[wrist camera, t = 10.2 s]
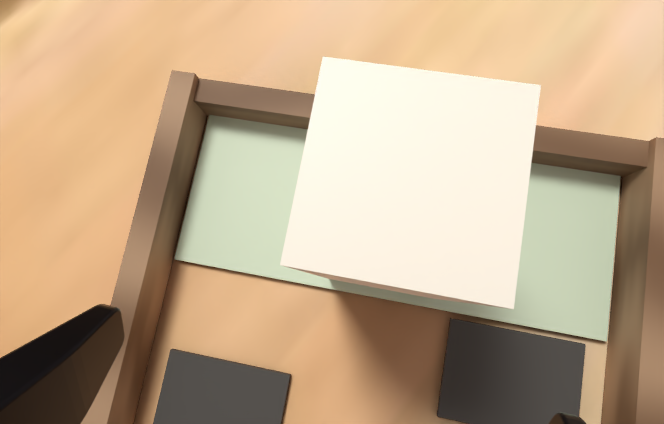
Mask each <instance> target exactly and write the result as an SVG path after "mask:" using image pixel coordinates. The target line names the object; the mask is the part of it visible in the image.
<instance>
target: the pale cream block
mask: <svg viewBox="0 0 664 424" xmlns="http://www.w3.org/2000/svg"><path fill="white" fill-rule="evenodd" d="M540 87H541V85H535V84H528V83H520V82H512V81H505V80H497V79H490V78H482V77H474V76H467V75H459V74H452V73H444V72H437V71H429V70H421V69H414V68H406V67H399V66H391V65H383V64H376V63H368V62H361V61H353V60H345V59H338V58H330V57H323V58H322V63H321V68H320V73H319V78H318V83H317V88H316V92H315V97H314V102H313V107H312V112H311V117H310V121H309V126H308V131H307V136H306V141H305V146H304V151H303V155H302V160H301V165H300V170H299V175H298V180H297V185H296V189H295V194H294V199H293V204H292V209H291V214H290V218H289V223H288V228H287V233H286V238H285V243H284V248H283V252H282V257H281V262H280V265H281V266H285V267H289V268H292V269H296V270H299V271H303V272H306V273H310V274H313V275H317V276H321V277H324V278H328V279H332V280H337V281H343V282H348V283H353V284H358V285H364V286H369V287H374V288H379V289H385V290H390V291H395V292H400V293H406V294H411V295H416V296H421V297H427V298H432V299H439V300H447V301H455V302H462V303H470V304H477V305H485V306H493V307H500V308H508V309H514V303H515V295H516V286H517V278H518V270H519V261H520V253H521V245H522V236H523V228H524V220H525V211H526V203H527V195H528V187H529V178H530V170H531V162H532V153H533V145H534V137H535V128H536V120H537V112H538V104H539V95H540Z"/></svg>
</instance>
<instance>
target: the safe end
mask: <svg viewBox="0 0 664 424" xmlns="http://www.w3.org/2000/svg"><path fill="white" fill-rule="evenodd" d="M307 131H308V129H302V128H295V127H288V126H282V125H275V124H268V123H262V122H255V121H248V120H241V119H235V118H228V117H221V116H215V115H209V118H208V122H207V126H206V130H205V134H204V138H203V143H202V147H201V151H200V155H199V159H198V163H197V167H196V172H195V176H194V180H193V184H192V188H191V192H190V196H189V200H188V205H187V209H186V213H185V217H184V221H183V225H182V229H181V233H180V238H179V242H178V246H177V250H176V254H175V258H174V259H175V260H181V261H186V262H191V263H196V264H202V265H207V266H212V267H217V268H223V269H228V270H233V271H238V272H244V273H249V274H254V275H260V276H265V277H270V278H275V279H281V280H286V281H291V282H296V283H302V284H307V285H312V286H317V287H323V288H328V289H333V290H338V291H344V292H349V293H354V294H359V295H365V296H370V297H375V298H381V299H386V300H391V301H396V302H402V303H407V304H412V305H417V306H423V307H428V308H433V309H438V310H444V311H449V312H454V313H459V314H465V315H470V316H475V317H481V318H486V319H491V320H496V321H502V322H507V323H512V324H517V325H523V326H528V327H533V328H538V329H544V330H549V331H554V332H559V333H565V334H570V335H575V336H580V337H586V338H591V339H596V340H602V341H607V334H608V322H609V310H610V298H611V286H612V274H613V262H614V250H615V238H616V227H617V215H618V203H619V191H620V179H621V176H617V175H610V174H604V173H597V172H590V171H584V170H577V169H570V168H563V167H557V166H550V165H543V164H537V163H531V170H530V178H529V187H528V195H527V203H526V211H525V220H524V228H523V236H522V245H521V253H520V261H519V270H518V278H517V286H516V295H515V303H514V309H508V308H500V307H493V306H485V305H477V304H470V303H462V302H455V301H447V300H439V299H432V298H427V297H421V296H416V295H411V294H406V293H400V292H395V291H390V290H385V289H379V288H374V287H369V286H364V285H358V284H353V283H348V282H343V281H337V280H332V279H328V278H324V277H321V276H317V275H313V274H310V273H306V272H303V271H299V270H296V269H292V268H289V267H285V266H281V265H280V262H281V257H282V252H283V248H284V243H285V238H286V233H287V228H288V223H289V218H290V214H291V209H292V204H293V199H294V194H295V189H296V185H297V180H298V175H299V170H300V165H301V160H302V155H303V151H304V146H305V141H306V136H307Z"/></svg>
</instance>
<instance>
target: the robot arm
mask: <svg viewBox="0 0 664 424" xmlns="http://www.w3.org/2000/svg"><path fill="white" fill-rule="evenodd" d="M124 338H125V332H124V325H123V319H122V313H121V310H120V309H119V308H117V307H114V306H109V305H105V304H99V305H96V306H94V307H93V308H91V309H89V310H87V311H85V312H83V313H82V314H80V315H78V316H76V317H74V318H72V319H71V320H69V321H67V322H65V323H63V324H61V325H60V326H58V327H56V328H54V329H52V330H50V331H49V332H47V333H45V334H43V335H41V336H40V337H38V338H36V339H34V340H32V341H30V342H29V343H27V344H25V345H23V346H21V347H19V348H18V349H16V350H14V351H12V352H10V353H8V354H7V355H5V356H3V357H1V358H0V424H81V423H82V421H83V419H84V418H85V416H86V414H87V413H88V411H89V409H90V407H91V405H92V403H93V402H94V400H95V398H96V396H97V394H98V392H99V390H100V388H101V386H102V384H103V382H104V380H105V378H106V376H107V374H108V372H109V370H110V368H111V366H112V364H113V362H114V361H115V359H116V357H117V355H118V353H119V351H120V349H121V347H122V345H123V342H124ZM548 424H586V423H585V422H584V421H583V420H582V419H581V418H580V417H578V416H575V415H571V414H567V413H563V412H559V413H556V414H555V415H554V416H553V418H552V419H551V421H550V422H549V423H548Z"/></svg>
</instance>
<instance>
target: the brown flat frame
mask: <svg viewBox="0 0 664 424" xmlns="http://www.w3.org/2000/svg"><path fill="white" fill-rule="evenodd" d="M314 97H315V94H307V93H300V92H293V91H286V90H279V89H272V88H264V87H257V86H250V85H243V84H236V83H229V82H221V81H214V80H207V79H200V78H198V77H197V76H196V74H195V73H188V72H180V71H173V70H172V72H171V76H170V79H169V83H168V87H167V91H166V95H165V99H164V102H163V106H162V110H161V114H160V118H159V122H158V125H157V129H156V133H155V137H154V141H153V145H152V148H151V152H150V156H149V160H148V164H147V168H146V171H145V175H144V179H143V183H142V187H141V191H140V194H139V198H138V202H137V206H136V210H135V214H134V217H133V221H132V225H131V229H130V233H129V237H128V241H127V244H126V248H125V252H124V256H123V260H122V264H121V267H120V271H119V275H118V279H117V283H116V287H115V290H114V294H113V298H112V302H111V306H114V307H117V308H119V309H120V310H121V313H122V319H123V325H124V332H125V338H124V342H123V345H122V347H121V349H120V351H119V353H118V355H117V357H116V359H115V361H114V362H113V364H112V366H111V368H110V370H109V372H108V374H107V376H106V378H105V380H104V382H103V384H102V386H101V388H100V390H99V392H98V394H97V396H96V398H95V400H94V402H93V403H92V405H91V407H90V409H89V411H88V413H87V414H86V416H85V418H84V419H83V421H82V423H81V424H133V423H134V419H135V414H136V410H137V406H138V402H139V398H140V394H141V390H142V386H143V381H144V377H145V373H146V369H147V365H148V361H149V357H150V353H151V348H152V344H153V340H154V336H155V332H156V328H157V324H158V320H159V315H160V311H161V307H162V303H163V299H164V295H165V291H166V287H167V282H168V278H169V274H170V270H171V266H172V262H173V258H174V254H175V249H176V245H177V241H178V237H179V233H180V229H181V225H182V221H183V216H184V212H185V208H186V204H187V200H188V196H189V192H190V188H191V183H192V179H193V175H194V171H195V167H196V163H197V159H198V155H199V150H200V146H201V142H202V138H203V134H204V130H205V126H206V122H207V117H208V116H209V115H215V116H221V117H228V118H235V119H241V120H248V121H255V122H262V123H268V124H275V125H282V126H288V127H295V128H302V129H308V126H309V121H310V117H311V112H312V107H313V102H314ZM531 163H537V164H543V165H550V166H557V167H563V168H570V169H577V170H584V171H590V172H597V173H604V174H610V175H617V176H621V178H622V180H621V192H620V204H619V216H618V228H617V240H616V252H615V264H614V276H613V288H612V300H611V312H610V324H609V336H608V348H607V360H606V372H605V384H604V396H603V408H602V420H601V424H664V138H657V137H656V138H654V139H652V140H650V141H644V140H637V139H630V138H623V137H615V136H608V135H601V134H594V133H587V132H580V131H572V130H565V129H558V128H551V127H544V126H537V125H536V128H535V137H534V145H533V153H532V162H531ZM584 355H585V344H582V343H577V342H572V341H567V340H562V339H556V338H551V337H546V336H541V335H536V334H530V333H525V332H520V331H515V330H509V329H504V328H499V327H494V326H489V325H483V324H478V323H473V322H468V321H462V320H457V319H452V318H450V325H449V332H448V339H447V346H446V353H445V361H444V368H443V375H442V382H441V389H440V396H439V404H438V411H437V416H438V417H442V418H446V419H451V420H456V421H460V422H465V423H469V424H548V423H549V422H550V421H551V419H552V418H553V416H554V415H555V414H556V413H559V412H563V413H567V414H571V415H575V416H578V417H579V410H580V399H581V388H582V377H583V366H584ZM290 376H291V374H288V373H283V372H279V371H274V370H269V369H265V368H260V367H255V366H251V365H246V364H241V363H237V362H232V361H227V360H223V359H218V358H213V357H209V356H204V355H199V354H195V353H190V352H185V351H181V350H176V349H171V350H170V354H169V358H168V363H167V367H166V371H165V375H164V380H163V384H162V388H161V392H160V397H159V401H158V405H157V409H156V414H155V418H154V422H153V424H281V423H282V418H283V413H284V408H285V402H286V397H287V392H288V387H289V382H290Z"/></svg>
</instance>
